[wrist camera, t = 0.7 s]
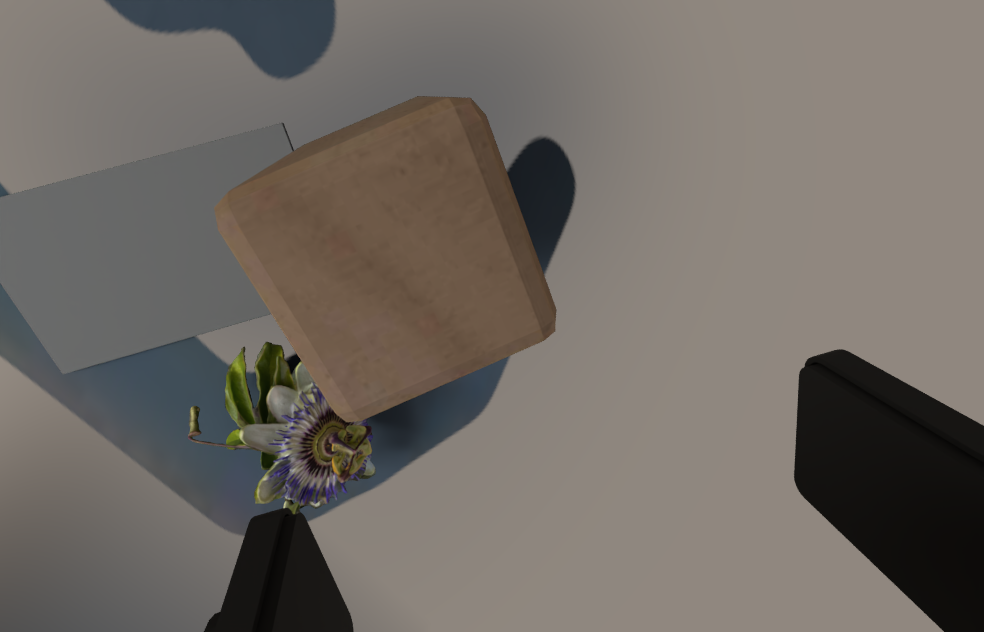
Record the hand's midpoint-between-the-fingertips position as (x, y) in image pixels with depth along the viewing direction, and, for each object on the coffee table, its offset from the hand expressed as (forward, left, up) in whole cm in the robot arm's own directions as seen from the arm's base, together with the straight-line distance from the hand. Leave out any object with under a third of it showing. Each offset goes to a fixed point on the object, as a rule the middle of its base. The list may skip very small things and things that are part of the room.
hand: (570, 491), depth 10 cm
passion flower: (+13, -15, -31) cm, 37 cm away
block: (-1, -2, -31) cm, 31 cm away
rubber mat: (-1, -18, -31) cm, 36 cm away
